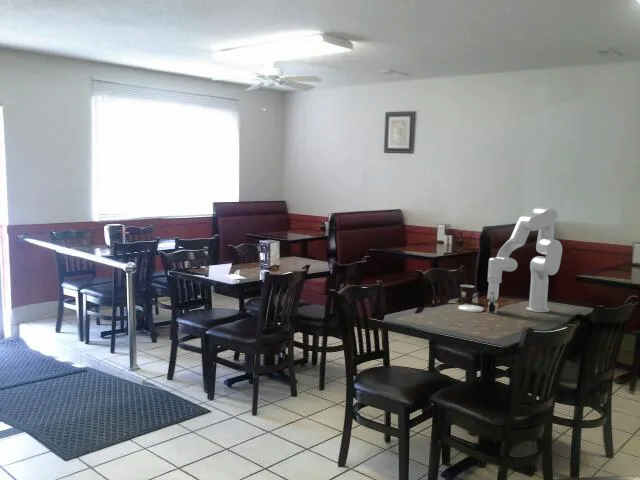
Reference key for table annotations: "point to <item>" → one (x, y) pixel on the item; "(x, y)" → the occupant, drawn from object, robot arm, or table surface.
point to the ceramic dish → (470, 308)
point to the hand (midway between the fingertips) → (492, 310)
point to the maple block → (495, 308)
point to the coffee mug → (467, 293)
